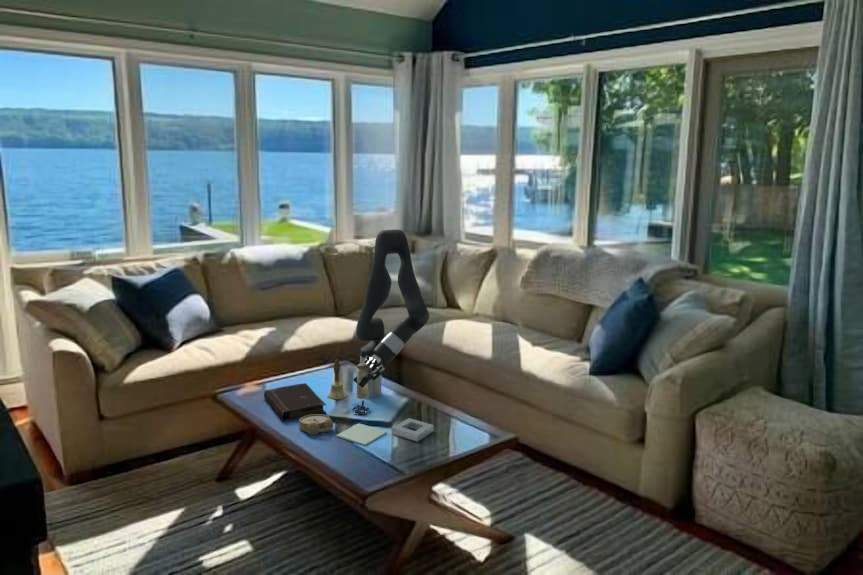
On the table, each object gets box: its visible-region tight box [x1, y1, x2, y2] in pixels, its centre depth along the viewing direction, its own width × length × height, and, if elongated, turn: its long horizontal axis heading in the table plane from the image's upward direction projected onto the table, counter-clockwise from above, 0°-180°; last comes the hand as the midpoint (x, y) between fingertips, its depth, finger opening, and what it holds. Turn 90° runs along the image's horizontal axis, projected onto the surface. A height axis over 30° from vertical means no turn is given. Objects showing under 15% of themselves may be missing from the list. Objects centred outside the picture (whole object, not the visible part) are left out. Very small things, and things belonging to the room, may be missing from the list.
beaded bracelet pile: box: [352, 399, 370, 413], centre depth 255 cm, size 8×7×8 cm
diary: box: [263, 382, 327, 422], centre depth 258 cm, size 19×25×5 cm
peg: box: [356, 363, 369, 400], centre depth 231 cm, size 4×4×12 cm
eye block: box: [391, 417, 434, 442], centre depth 238 cm, size 11×11×2 cm
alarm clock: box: [298, 414, 334, 436], centre depth 238 cm, size 11×5×15 cm
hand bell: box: [326, 359, 348, 400], centre depth 270 cm, size 8×8×16 cm
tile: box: [336, 423, 388, 447], centre depth 235 cm, size 13×13×1 cm
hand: (357, 383), depth 230 cm, fingers closed on peg, 4 cm apart
